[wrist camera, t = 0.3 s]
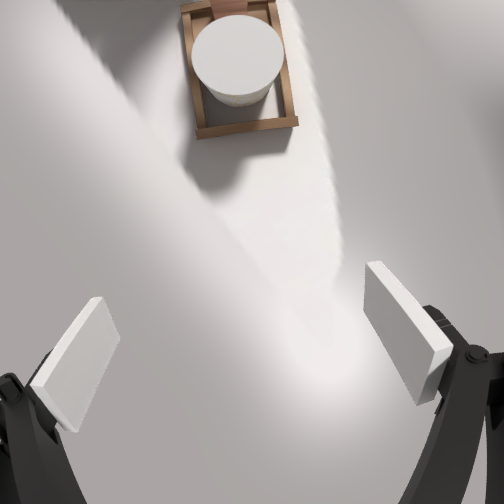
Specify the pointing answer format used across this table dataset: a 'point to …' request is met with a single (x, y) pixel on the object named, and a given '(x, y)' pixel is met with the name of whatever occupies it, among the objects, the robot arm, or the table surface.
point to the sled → (194, 21)
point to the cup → (238, 59)
